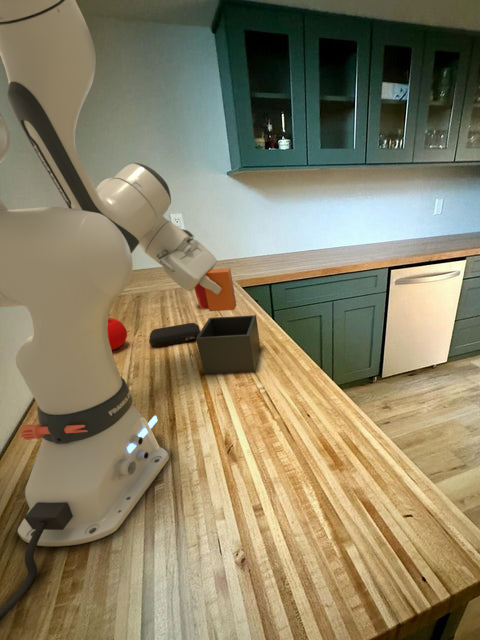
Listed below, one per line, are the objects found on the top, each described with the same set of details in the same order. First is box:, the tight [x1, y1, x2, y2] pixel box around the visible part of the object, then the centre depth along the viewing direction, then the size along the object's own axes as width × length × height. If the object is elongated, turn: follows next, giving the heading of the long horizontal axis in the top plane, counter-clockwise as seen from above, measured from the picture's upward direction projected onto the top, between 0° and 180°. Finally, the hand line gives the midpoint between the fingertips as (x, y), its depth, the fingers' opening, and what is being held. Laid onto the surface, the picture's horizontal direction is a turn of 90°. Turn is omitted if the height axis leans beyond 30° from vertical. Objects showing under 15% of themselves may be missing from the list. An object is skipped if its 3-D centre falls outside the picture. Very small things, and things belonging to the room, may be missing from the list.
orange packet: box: [205, 268, 237, 312], centre depth 79 cm, size 3×6×9 cm, turn 90°
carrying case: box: [148, 322, 201, 347], centre depth 102 cm, size 11×3×15 cm
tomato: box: [107, 314, 128, 351], centre depth 97 cm, size 10×10×10 cm
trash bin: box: [195, 314, 261, 375], centre depth 86 cm, size 14×13×10 cm
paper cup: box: [193, 284, 209, 310], centre depth 126 cm, size 8×8×14 cm
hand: (222, 288), depth 79 cm, fingers closed on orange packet, 3 cm apart
